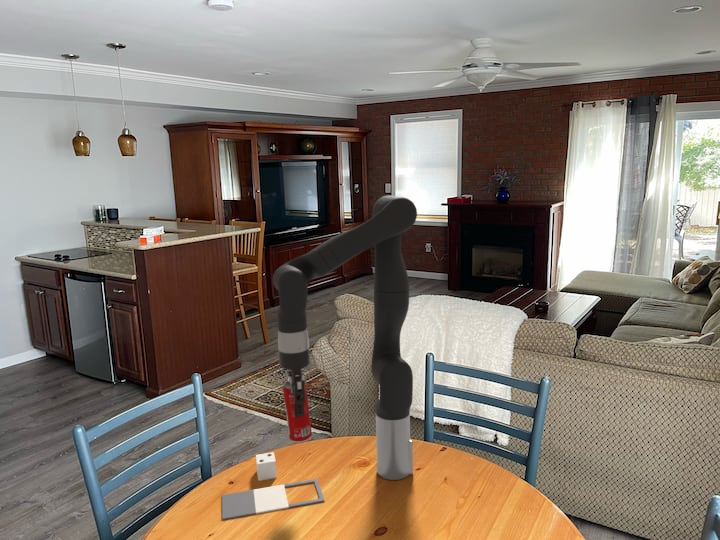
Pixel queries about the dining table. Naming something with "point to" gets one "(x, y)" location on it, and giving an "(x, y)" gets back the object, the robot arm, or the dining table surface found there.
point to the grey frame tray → (263, 500)
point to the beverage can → (297, 425)
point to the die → (266, 466)
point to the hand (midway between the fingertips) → (297, 410)
